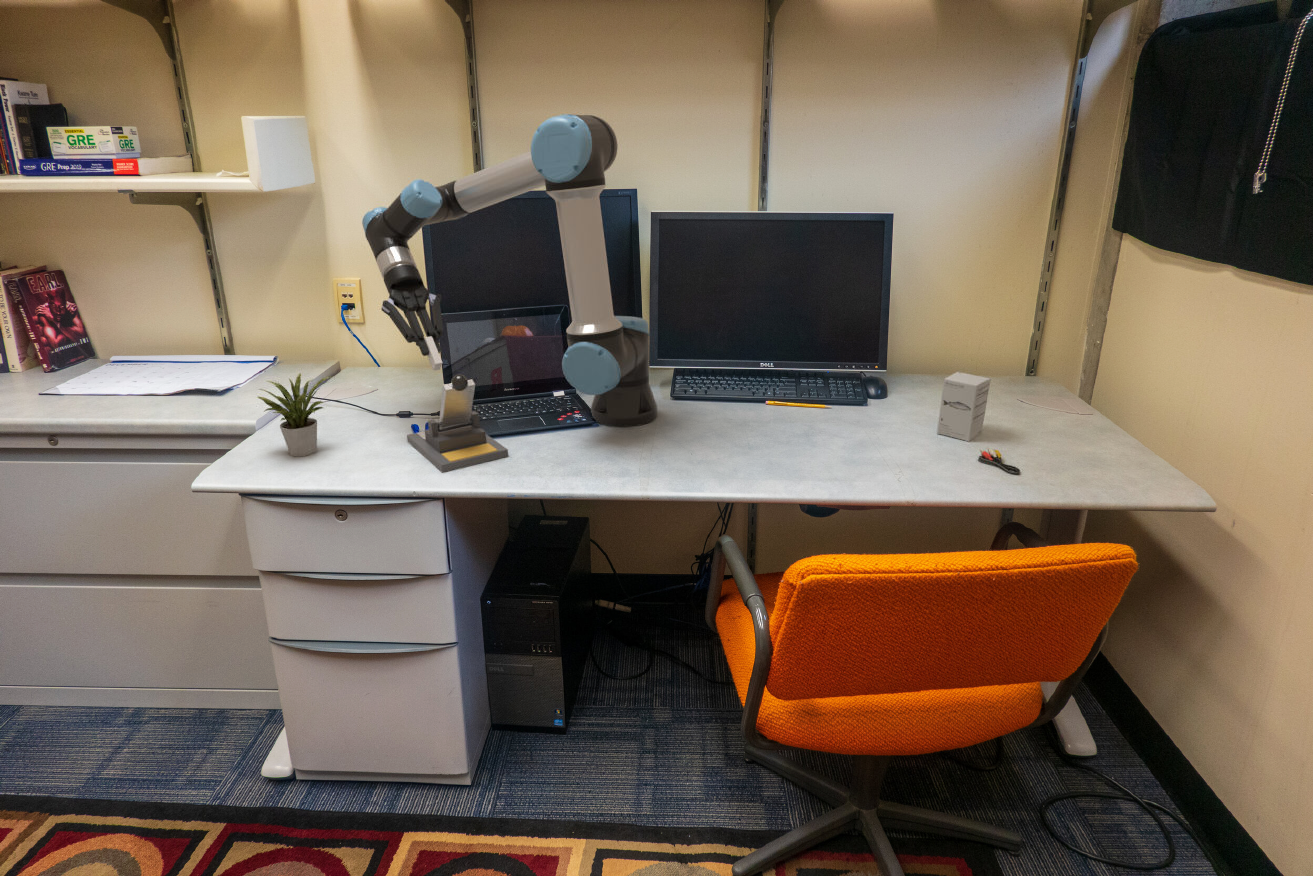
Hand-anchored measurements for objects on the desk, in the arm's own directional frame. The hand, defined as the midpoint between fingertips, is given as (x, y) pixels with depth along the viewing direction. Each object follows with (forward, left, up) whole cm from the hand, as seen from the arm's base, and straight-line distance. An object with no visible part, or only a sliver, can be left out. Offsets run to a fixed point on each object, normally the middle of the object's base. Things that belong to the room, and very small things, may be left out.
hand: (437, 366), depth 168 cm
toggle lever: (-3, +4, -11) cm, 12 cm away
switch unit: (-3, +4, -17) cm, 17 cm away
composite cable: (-112, +14, -17) cm, 114 cm away
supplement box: (-110, -4, -17) cm, 112 cm away
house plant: (+28, +4, -17) cm, 33 cm away
